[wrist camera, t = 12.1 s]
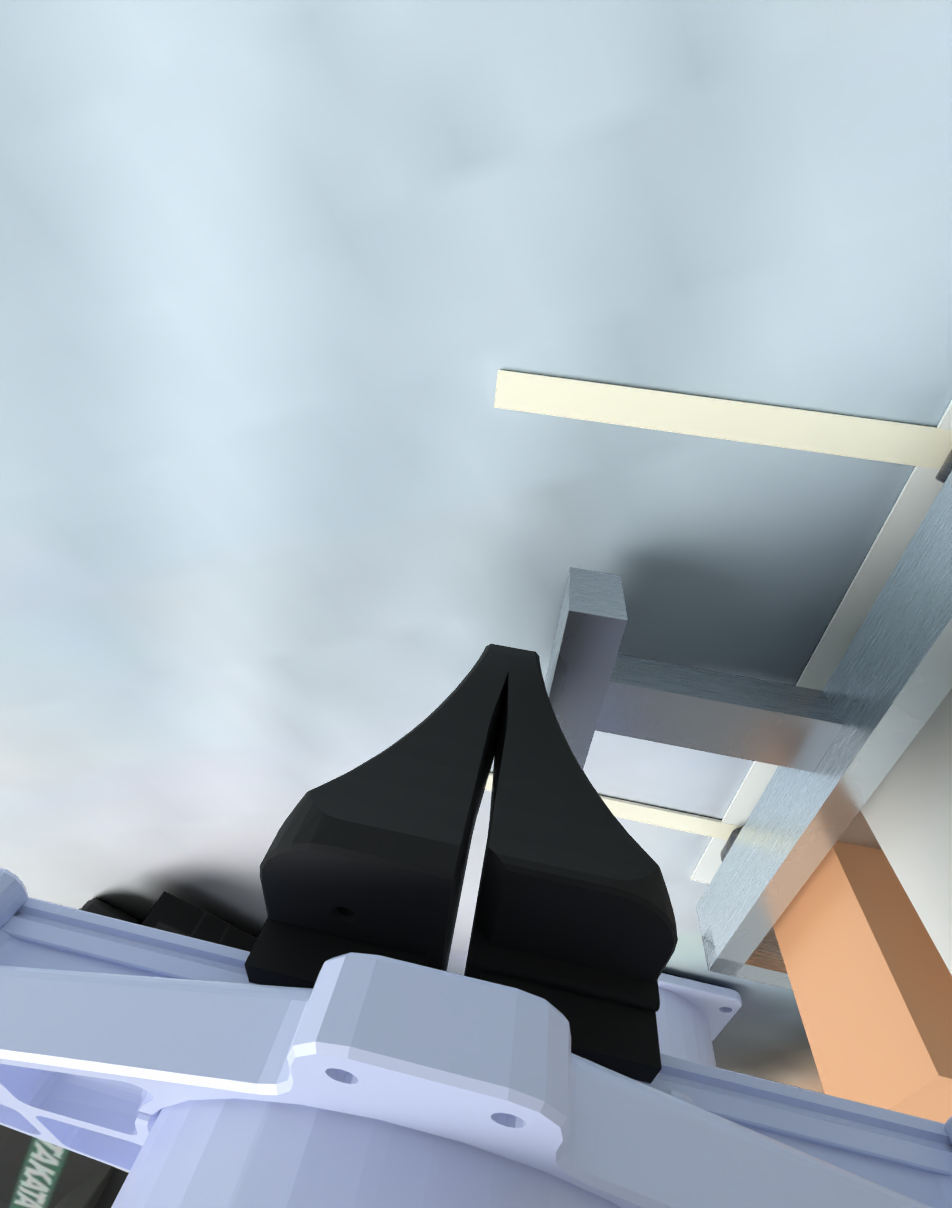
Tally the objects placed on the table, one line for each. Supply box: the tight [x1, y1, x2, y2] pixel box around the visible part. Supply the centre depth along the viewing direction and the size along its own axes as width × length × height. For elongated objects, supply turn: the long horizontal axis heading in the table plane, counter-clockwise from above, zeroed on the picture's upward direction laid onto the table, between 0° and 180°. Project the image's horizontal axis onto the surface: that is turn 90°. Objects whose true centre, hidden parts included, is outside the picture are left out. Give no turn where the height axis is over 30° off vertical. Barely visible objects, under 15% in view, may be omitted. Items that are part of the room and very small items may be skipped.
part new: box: [773, 841, 952, 1124], centre depth 13 cm, size 4×4×5 cm
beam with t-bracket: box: [545, 449, 952, 990], centre depth 13 cm, size 18×14×3 cm
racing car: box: [0, 891, 257, 1208], centre depth 31 cm, size 17×39×12 cm, turn 142°
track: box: [485, 370, 952, 884], centre depth 14 cm, size 19×18×1 cm
